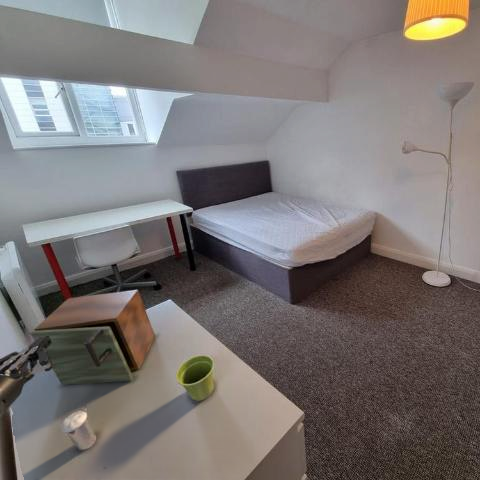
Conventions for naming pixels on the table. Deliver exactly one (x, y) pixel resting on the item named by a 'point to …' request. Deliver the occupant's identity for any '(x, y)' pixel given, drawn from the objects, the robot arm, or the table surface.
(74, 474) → the table surface
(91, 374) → the cupboard door
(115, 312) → the cupboard
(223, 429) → the table surface
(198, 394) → the plant pot
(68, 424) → the milkshake
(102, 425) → the table surface
